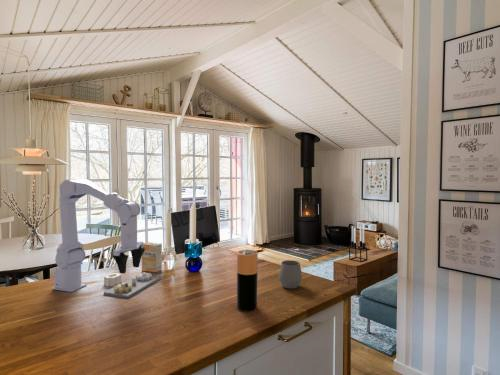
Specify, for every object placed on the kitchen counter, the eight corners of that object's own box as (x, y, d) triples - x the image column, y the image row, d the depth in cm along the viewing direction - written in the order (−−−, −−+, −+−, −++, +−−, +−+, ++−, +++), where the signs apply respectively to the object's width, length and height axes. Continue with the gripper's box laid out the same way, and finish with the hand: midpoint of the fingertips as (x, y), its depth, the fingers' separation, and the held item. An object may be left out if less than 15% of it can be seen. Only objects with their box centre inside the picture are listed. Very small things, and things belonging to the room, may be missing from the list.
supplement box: (141, 271, 152) (140, 243, 151) (147, 268, 157) (147, 241, 156) (156, 273, 150) (156, 245, 149) (162, 270, 154) (162, 243, 154)
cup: (301, 283, 138) (301, 260, 138) (302, 291, 129) (302, 266, 129) (278, 282, 139) (279, 259, 139) (278, 290, 130) (279, 265, 130)
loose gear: (101, 285, 133) (101, 277, 133) (112, 280, 140) (112, 272, 140) (112, 287, 132) (112, 278, 132) (123, 281, 138) (123, 273, 138)
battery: (239, 313, 109) (239, 254, 108) (234, 304, 116) (235, 249, 115) (259, 310, 111) (260, 253, 110) (253, 302, 118) (254, 248, 117)
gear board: (103, 294, 124) (103, 285, 124) (139, 276, 145) (139, 268, 145) (128, 298, 121) (128, 288, 120) (160, 279, 142) (160, 270, 141)
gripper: (124, 239, 114) (125, 277, 114) (149, 231, 127) (150, 265, 128) (108, 237, 116) (108, 274, 117) (135, 230, 129) (135, 263, 130)
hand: (129, 269), depth 122 cm, fingers open, 7 cm apart
